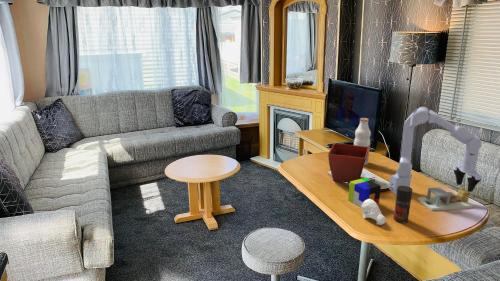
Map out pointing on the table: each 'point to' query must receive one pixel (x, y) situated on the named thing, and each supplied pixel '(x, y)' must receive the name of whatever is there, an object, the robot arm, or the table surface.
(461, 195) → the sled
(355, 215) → the table surface
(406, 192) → the deodorant
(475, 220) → the table surface
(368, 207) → the white rounded lumpy piece
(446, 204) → the deck tunnel
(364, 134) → the white bottle
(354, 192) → the puzzle toy
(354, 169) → the plant pot
